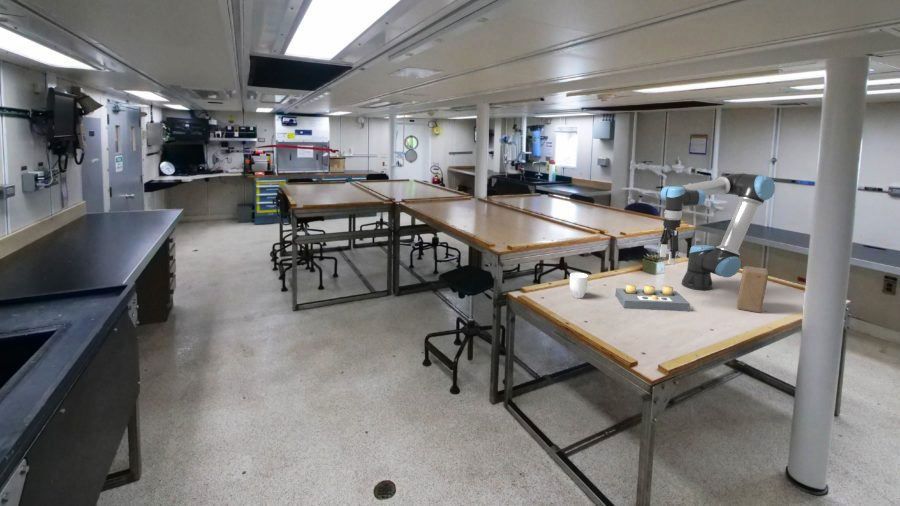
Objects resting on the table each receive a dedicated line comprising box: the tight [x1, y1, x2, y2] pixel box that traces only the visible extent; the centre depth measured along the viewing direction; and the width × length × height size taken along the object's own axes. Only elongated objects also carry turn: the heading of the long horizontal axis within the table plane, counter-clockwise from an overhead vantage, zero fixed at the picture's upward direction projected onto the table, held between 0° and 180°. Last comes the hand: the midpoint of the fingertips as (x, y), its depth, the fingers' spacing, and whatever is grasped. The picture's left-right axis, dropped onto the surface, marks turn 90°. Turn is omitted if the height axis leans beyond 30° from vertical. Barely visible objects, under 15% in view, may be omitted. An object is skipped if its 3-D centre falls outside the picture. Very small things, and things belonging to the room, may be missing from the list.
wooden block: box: [736, 265, 769, 314], centre depth 224 cm, size 10×10×20 cm
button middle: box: [643, 284, 656, 295], centre depth 235 cm, size 5×5×4 cm
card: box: [637, 295, 672, 302], centre depth 227 cm, size 15×5×2 cm, turn 84°
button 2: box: [662, 285, 674, 296], centre depth 234 cm, size 5×5×4 cm
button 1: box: [625, 284, 637, 294], centre depth 236 cm, size 5×5×4 cm
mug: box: [569, 272, 589, 299], centre depth 240 cm, size 12×9×12 cm
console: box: [614, 287, 691, 312], centre depth 232 cm, size 30×18×4 cm, turn 84°
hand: (666, 260), depth 232 cm, fingers open, 13 cm apart
